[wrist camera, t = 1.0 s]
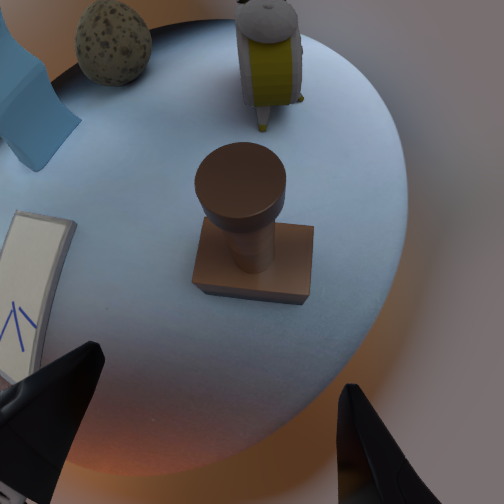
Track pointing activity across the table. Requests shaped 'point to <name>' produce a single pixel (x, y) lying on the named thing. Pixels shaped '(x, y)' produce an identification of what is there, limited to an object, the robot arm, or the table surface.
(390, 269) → the table surface
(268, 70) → the alarm clock
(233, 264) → the wooden rubber stamp
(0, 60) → the vase
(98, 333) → the table surface
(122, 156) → the table surface
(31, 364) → the board
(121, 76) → the decorative egg
